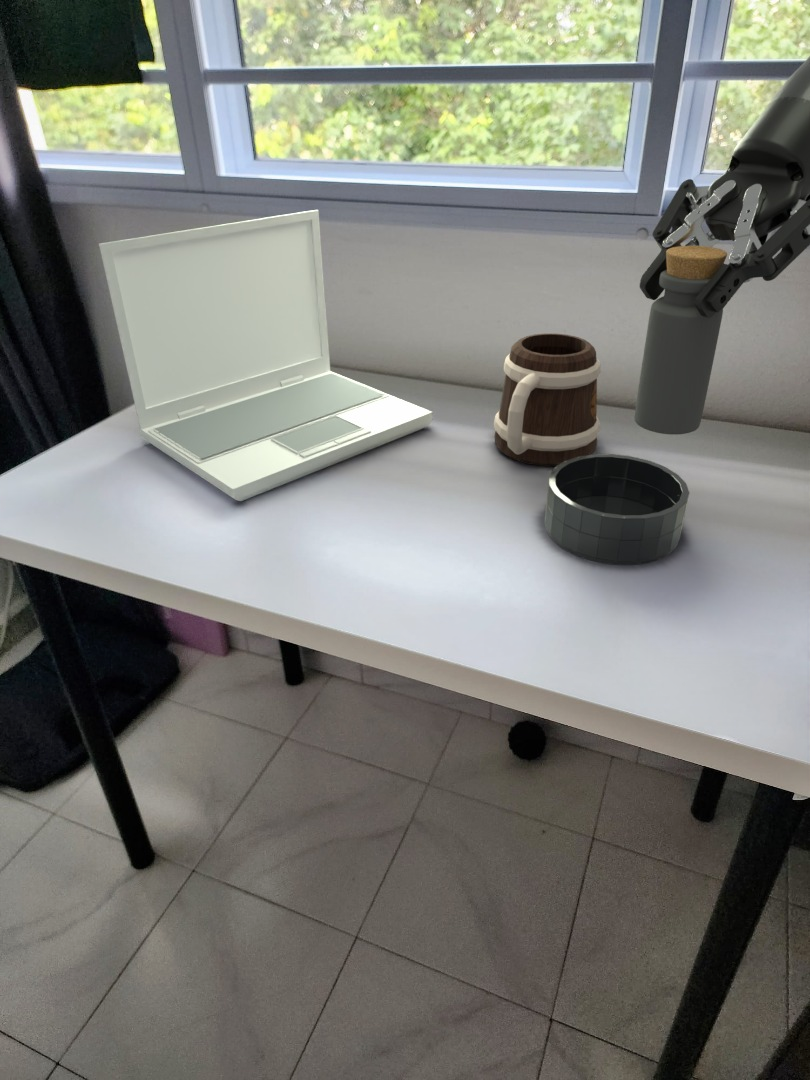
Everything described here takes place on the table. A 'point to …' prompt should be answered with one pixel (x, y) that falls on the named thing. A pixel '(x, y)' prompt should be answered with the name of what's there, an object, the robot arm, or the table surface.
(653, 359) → the bottle
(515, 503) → the table surface
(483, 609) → the table surface
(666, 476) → the pot
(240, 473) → the laptop
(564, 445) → the mug
